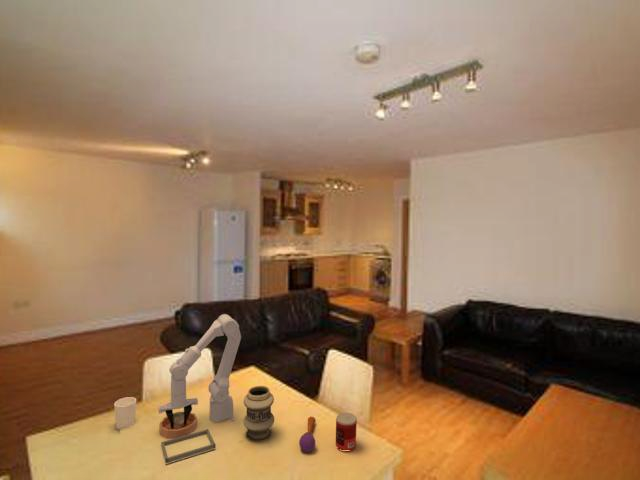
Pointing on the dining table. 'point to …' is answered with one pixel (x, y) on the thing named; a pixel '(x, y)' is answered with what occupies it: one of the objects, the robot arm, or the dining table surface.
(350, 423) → the canned food
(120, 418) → the white cup
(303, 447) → the purple maraca
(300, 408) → the dining table surface
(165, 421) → the orange shallow faceted dish
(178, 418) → the taupe rounded cylinder
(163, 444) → the charcoal tray
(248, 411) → the apothecary jar
